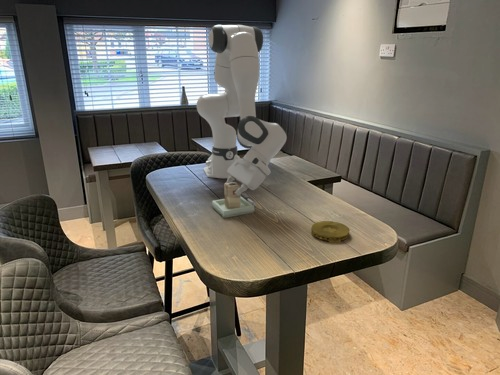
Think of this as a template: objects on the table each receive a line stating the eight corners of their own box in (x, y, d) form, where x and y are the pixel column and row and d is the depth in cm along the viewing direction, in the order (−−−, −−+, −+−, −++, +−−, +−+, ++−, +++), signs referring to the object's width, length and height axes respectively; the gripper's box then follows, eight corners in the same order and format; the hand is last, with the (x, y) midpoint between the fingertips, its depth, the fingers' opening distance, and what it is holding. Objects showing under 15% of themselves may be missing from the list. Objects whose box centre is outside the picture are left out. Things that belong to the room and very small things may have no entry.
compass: (336, 247, 113) (336, 240, 113) (303, 235, 121) (304, 228, 120) (355, 234, 122) (356, 228, 121) (324, 223, 129) (324, 218, 129)
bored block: (224, 206, 142) (224, 183, 139) (235, 204, 144) (235, 181, 141) (229, 210, 138) (229, 186, 135) (240, 208, 140) (240, 184, 137)
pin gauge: (240, 197, 154) (240, 193, 153) (244, 197, 154) (244, 193, 154) (252, 206, 144) (252, 202, 144) (256, 206, 145) (256, 201, 144)
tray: (212, 206, 144) (212, 200, 143) (240, 202, 149) (240, 196, 148) (224, 218, 133) (223, 211, 133) (254, 212, 138) (254, 206, 138)
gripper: (237, 150, 147) (215, 178, 146) (262, 163, 129) (236, 194, 128) (248, 160, 150) (225, 187, 149) (273, 173, 132) (248, 204, 131)
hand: (230, 190), depth 138 cm, fingers open, 8 cm apart
